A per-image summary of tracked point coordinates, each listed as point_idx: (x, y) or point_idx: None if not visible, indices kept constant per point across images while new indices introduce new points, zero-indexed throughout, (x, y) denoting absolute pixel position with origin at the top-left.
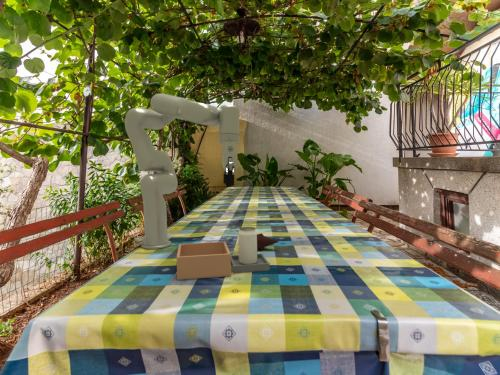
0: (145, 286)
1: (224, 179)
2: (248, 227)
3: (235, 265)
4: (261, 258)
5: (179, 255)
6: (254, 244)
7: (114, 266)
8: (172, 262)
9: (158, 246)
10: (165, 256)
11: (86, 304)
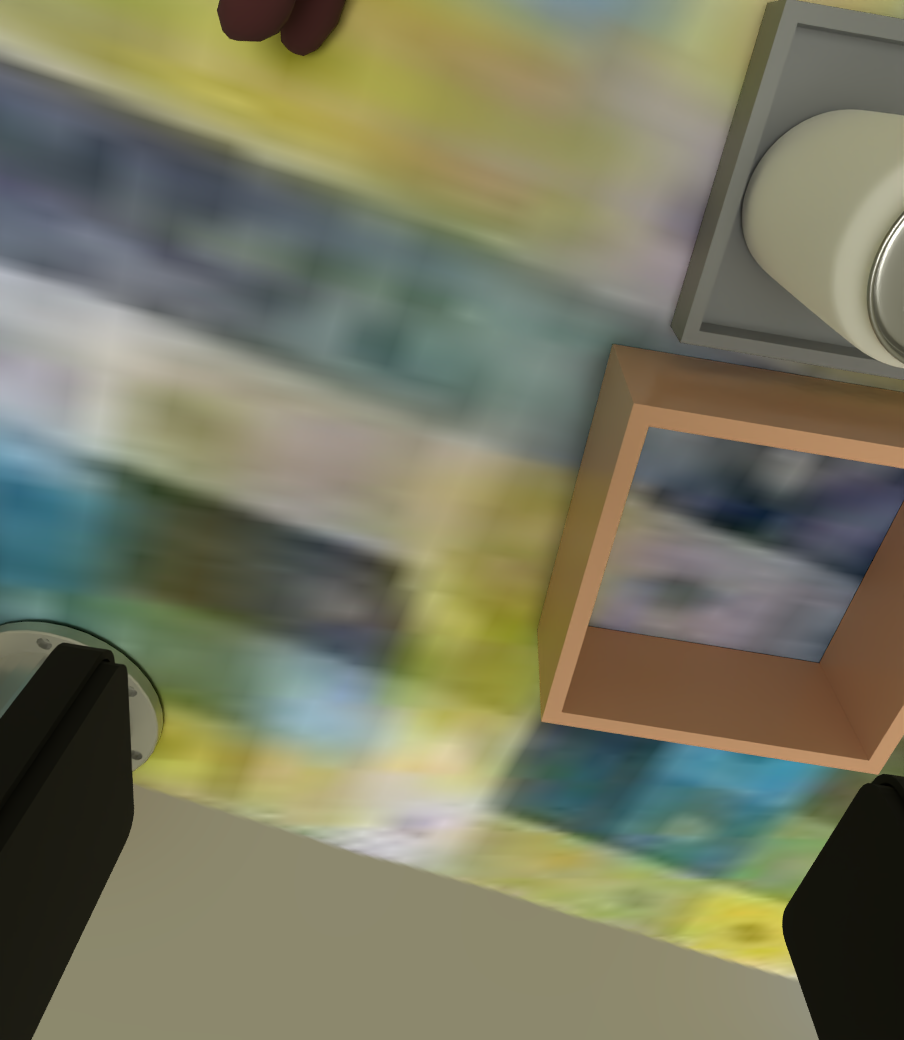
0: (825, 790)
1: (81, 921)
2: (898, 224)
3: None
4: (817, 29)
5: (844, 757)
6: None
7: (453, 871)
8: (500, 660)
9: (152, 708)
10: (352, 678)
11: None
